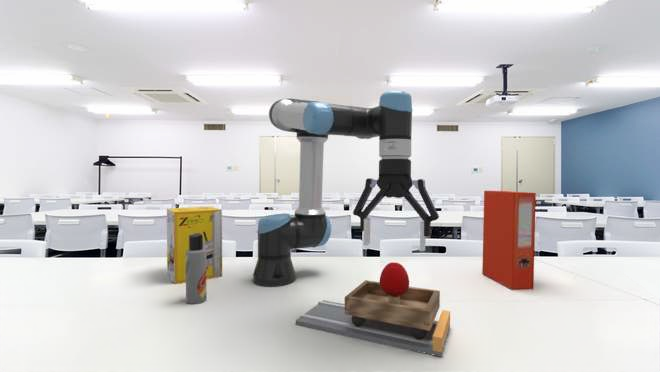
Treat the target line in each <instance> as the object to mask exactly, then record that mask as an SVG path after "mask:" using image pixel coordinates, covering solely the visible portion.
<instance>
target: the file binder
mask: <svg viewBox="0 0 660 372" xmlns="http://www.w3.org/2000/svg"><path fill="white" fill-rule="evenodd" d="M536 199H537V194H536V192H527V191H512V190H511V191H510V190H509V191H508V190H484V191H483V228H482V229H483V231H482V232H483V233H482V234H483V235H482V270H481V271H482V275H483V276H485V277H487V278H489V279H491V280H493V281H494V282H497V283H498V284H500V285H503V286H504V287H507V288H508V289H510V290H511V291H512V290H513V291H514V290H515V291H517V290H519V291H521V290H522V291H523V290H534V281H535V280H534V279H535V278H534V277H535V242H536V241H535V239H536V238H535V237H536V204H537V203H536Z"/></svg>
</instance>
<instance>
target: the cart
mask: <svg viewBox="0 0 660 372" xmlns="http://www.w3.org/2000/svg"><path fill="white" fill-rule="evenodd" d="M440 293H441V291H440V290H436V289H429V288H422V287H415V286H409V288H408V290H407V292H405V293H404V294H403V295H400V304H394V303H389V296H388V294H386V293H385V292H384V291H383V290H382V289H381V286H380V281H374V280H368V279H367V280H364V281H363V282H362V283H360V284H359V285H358V286H356V287H355V288H354V289H353V290H352V291H350V292H349V293H347V294H346V295H345V297H344V304H345V314H346V315H352V323H353V324H354V325H355V326H357V327H360V326H362V325H363V324H364V323H365V321H366V318H367V319H372V320H377V321H382V322H387V323H392V324H398V325H403V326H408V327H412V329H411V333H412V336H413V337H414V338H416V339H419V340H420V339H423V338H424V337H425V334H426V330H428V331H430V330H431V327H432V325H433V322H434V320H435V319H436V317H437V314H438V311H439V309H440V307H441V305H440V302H441V301H440V300H441V299H440V298H441V297H440V296H441V295H440ZM435 321H436V320H435Z"/></svg>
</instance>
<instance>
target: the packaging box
mask: <svg viewBox="0 0 660 372" xmlns="http://www.w3.org/2000/svg"><path fill="white" fill-rule="evenodd" d="M196 233H201V234H202V235H203V249H206V280H208V279H207V278H209V279H214V277H216V278H220V277H221V276H222V277H223V209H221V208H219V207H218V208H217V207H215V206H214V207H213V206H194V207H193V206H191V207H173V208H169V207H168V208H166V251H167V252H166V253H167V254H166V256H167V257H166V259H167V260H166V261H167V265H166V266H167V268H166V269H167V270H166V271H167V275H168V274H169V275H168V276H169V277H171V278H170V279H171V281H172V280H173V281H172V283H175V284H174V285H177V283H179V284H184V283H183V282H185V283H186V251H187V250H189V235H192V234H196Z"/></svg>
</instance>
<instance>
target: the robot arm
mask: <svg viewBox="0 0 660 372" xmlns="http://www.w3.org/2000/svg"><path fill="white" fill-rule="evenodd" d="M412 102H413V101H412V95H411V94H410V93H409V92H408V91H403V90H391V91H386V92H383V93H382V94H381V95H380V97H379V102H378V105H377V106H374V107H362V106H354V105H343V104H342V105H341V104H336V103H328V102H327V103H326V102H323V101H322V102H321V101H319V100H317V101H315V100H306V99H299V98H298V99H297V98H282V99H278V100H276V101H275V102H274V103H272V105H271V106H270V108H269V111H268V116H269V120H270V123H271V124H272V126H273V127H275V128H276V129H278V130H280V131H284V132H289V133H295V134H296V140H298V142H299V143H300V147H299V150H300V152H299V184H298V186H299V189H298V191H299V192H298V207H297V208H296V210H294V216H292V215H291V214H290V213H276V214H269V215H265V216H263V217H260V219H259V220H258V222H257V231H256V233H257V260H256V264H255V266H254V271H253V273H252V282H253V283H254V284H255V285H258V286H263V287H280V286H285V285H289V284H292V283H293V282H295V281H296V280H297V279H296V271H295V268H294V264H293V261H292V258H291V257H292V256H291V254H292V252H291V251H292V250H296V249H297V250H298V249H307V248H308V249H309V248H312V249H313V248H316V247H317V248H318V247H321V246H325V245H326V244H327V243H328V242H329V240H330V238H331V234H332V223H331V219H330V217H329V216H328V215H327V214H326V213H327V212H326V211H325V210H324V209H323V206H322V205H323V178H324V176H323V175H324V149H325V147H324V146H325V143H326V142H327V140H328V139H329V136H344V137H355V138H357V139H359V140H365V139H366V140H370V139H373V138H378V137H379V139H378V140H379V141H378V144H379V145H378V153H379V154H378V157H380V158H381V159H379V161H378V177H377V179H374V178H371V177H370V178H366V179H365V184H364V189H363V191H362V193H361V195H360V197H359V199H358V201H357V204H356V205H355V207H354V209H353V211H352V214H353V215H354V216H357V217H359V219H360V221H359V222H360V223H359V226H360V227H359V229H360V231H361V232H363V246H368V245H370V244H371V217H368V216H369V215H370V213H372V212H373V210H375V208H376V207H377V206H378V204H379V203H380V202H381V201H382V200H383V199H384V198H385V197H386V198H396V199H401V198H404V199H405V200H406V201H407V202H408V204H410V206H411V207H412V208H413V210H414V211H415V212H416V214H418V216H419V217H420V218H421V219H422V221H421V222H420V223H419V226H420V227H419V251H420V252H425V250H426V238H427V237H430V235H431V224H432V223H431V222H434V221H437V220H438V219H439V217H440V215H439V213H438V211H437V209H436V208H435V205H434V203H433V201H432V199H431V197H430V195H429V192H428V191H427V188H426V181H425V179H423V178H420V179H419V178H418V179H415V180H413V179H412V160H411V159H409V158H411V157H412V130H413V129H412V127H413V125H412V123H413V119H412V118H413V111H414V110H413V103H412ZM376 186H378V188H379V191H377V193H376V195H375V196H374V198H372V200H370V202H369V203H368V204H367V206H366V207H365V205H366V203H367V201H368V199H369V197H370V195H371V193H372V192H373V191H372V190H373V188H375V187H376ZM412 186H414V187H415V189H416V190H418V193H419V194H420V197H421V198H422V201H423V203H424V204H425V207H426V209H427V211H428V213H427V211H426V210H425V209H424V208H423V206H422V205H421V204H420V203H419V202H418V200H417V199H416V198H415V196H414V195H413V194H412V193H411V191H410V189H411V188H412ZM364 207H365V208H364Z"/></svg>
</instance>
